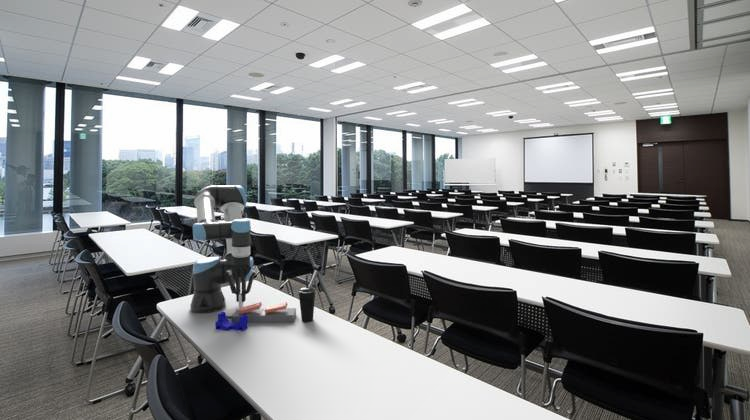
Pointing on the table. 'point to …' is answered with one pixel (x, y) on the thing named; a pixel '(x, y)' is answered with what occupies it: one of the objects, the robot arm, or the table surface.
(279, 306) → the rocker
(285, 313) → the power strip
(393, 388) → the table surface
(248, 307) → the rocker
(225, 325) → the cable clip
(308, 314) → the drinking cup
